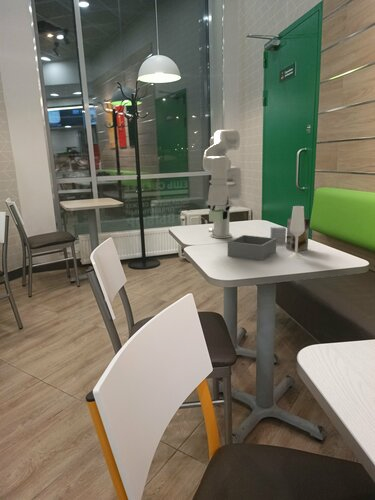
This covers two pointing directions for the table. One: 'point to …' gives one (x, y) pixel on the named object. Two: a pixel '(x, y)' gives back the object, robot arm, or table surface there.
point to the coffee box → (301, 239)
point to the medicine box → (278, 234)
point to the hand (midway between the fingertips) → (219, 218)
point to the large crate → (252, 247)
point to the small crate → (217, 215)
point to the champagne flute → (297, 227)
